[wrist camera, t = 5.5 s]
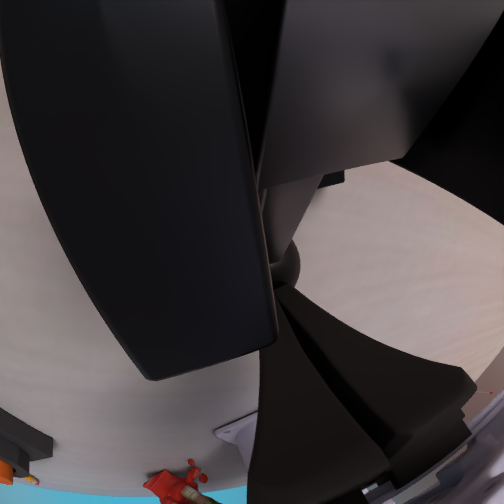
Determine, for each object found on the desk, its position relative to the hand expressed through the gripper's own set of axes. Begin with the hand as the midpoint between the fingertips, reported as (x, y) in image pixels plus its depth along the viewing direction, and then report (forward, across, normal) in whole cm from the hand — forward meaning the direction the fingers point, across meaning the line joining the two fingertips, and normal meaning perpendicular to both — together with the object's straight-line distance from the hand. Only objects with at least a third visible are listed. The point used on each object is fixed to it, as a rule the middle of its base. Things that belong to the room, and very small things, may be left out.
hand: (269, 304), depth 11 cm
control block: (+2, +24, +9) cm, 25 cm away
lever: (0, 0, -6) cm, 6 cm away
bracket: (+3, 0, -8) cm, 9 cm away
